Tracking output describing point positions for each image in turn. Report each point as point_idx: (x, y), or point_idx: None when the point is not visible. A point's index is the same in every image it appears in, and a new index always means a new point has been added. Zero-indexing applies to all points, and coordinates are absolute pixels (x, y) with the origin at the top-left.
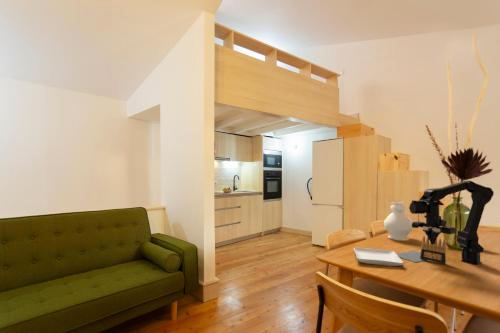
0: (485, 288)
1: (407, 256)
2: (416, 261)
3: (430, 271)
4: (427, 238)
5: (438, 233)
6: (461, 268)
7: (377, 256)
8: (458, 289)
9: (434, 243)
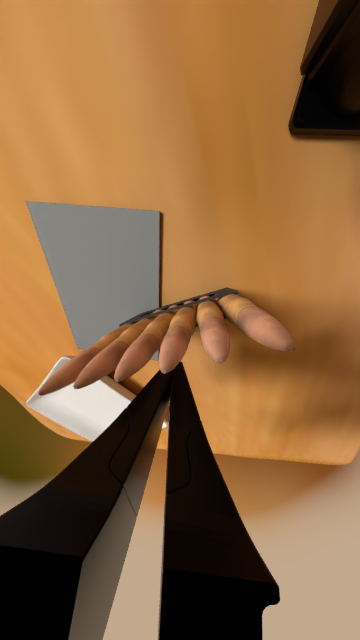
0: (355, 409)
1: (105, 327)
2: (155, 354)
3: (219, 392)
4: (99, 378)
5: (249, 597)
6: (295, 296)
7: (86, 391)
8: (294, 437)
9: (182, 367)
